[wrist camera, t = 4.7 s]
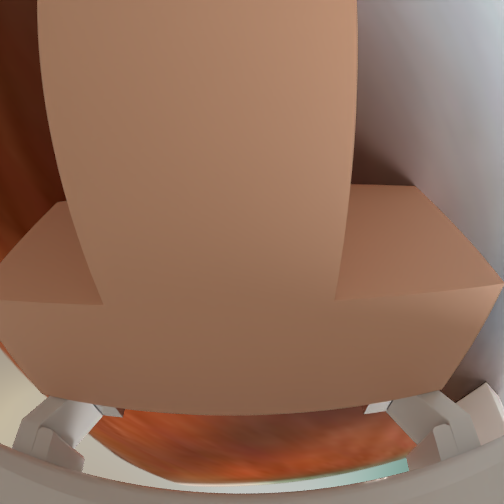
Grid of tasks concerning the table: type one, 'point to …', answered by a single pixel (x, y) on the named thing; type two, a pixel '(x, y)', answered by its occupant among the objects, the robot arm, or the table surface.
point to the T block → (227, 221)
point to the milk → (484, 413)
